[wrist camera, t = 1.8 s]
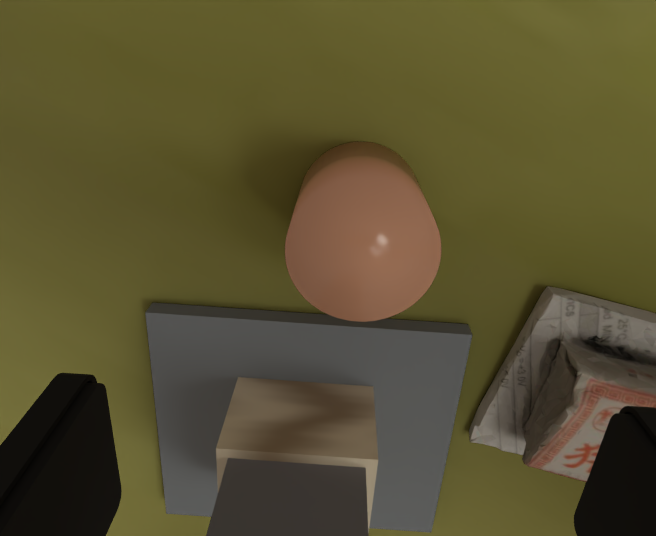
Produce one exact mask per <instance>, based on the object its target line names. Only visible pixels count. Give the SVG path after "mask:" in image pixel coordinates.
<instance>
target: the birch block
mask: <svg viewBox="0 0 656 536" xmlns="http://www.w3.org/2000/svg"><path fill="white" fill-rule="evenodd" d="M228 458H236V459H250V460H264V461H279V462H293V463H307V464H321V465H335V466H349V467H364V468H366V487H367V512H368V534H369V526H370V519H371V511H372V504H373V496H374V489H375V481H376V474H377V466H378V447H377V433H376V418H375V404H374V390H373V386H359V385H345V384H330V383H316V382H302V381H287V380H273V379H258V378H244V377H238V379H237V382H236V386H235V389H234V392H233V395H232V398H231V402H230V405H229V408H228V411H227V415H226V418H225V421H224V424H223V427H222V431H221V434H220V437H219V440H218V443H217V447H216V461H217V484H218V492H219V488H220V484H221V481H222V477H223V473H224V470H225V466H226V463H227V459H228Z"/></svg>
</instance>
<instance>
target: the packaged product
mask: <svg viewBox="0 0 656 536" xmlns="http://www.w3.org/2000/svg"><path fill="white" fill-rule="evenodd" d="M624 406H639V407H656V313H652V312H649V311H646V310H642V309H638V308H634V307H630V306H626V305H622V304H619V303H615V302H611V301H607V300H603V299H599V298H595V297H592V296H588V295H584V294H580V293H576V292H572V291H569V290H565V289H560V288H554V287H549V286H547V287H546V289H545V290H544V291H543V293H542V294H541V296H540V298H539V300H538V301H537V303H536V305H535V307H534V309H533V310H532V312H531V314H530V316H529V318H528V319H527V321H526V323H525V325H524V327H523V328H522V330H521V332H520V334H519V336H518V338H517V339H516V342H515V344H514V345H513V347H512V349H511V350H510V352H509V354H508V355H507V357H506V359H505V361H504V362H503V364H502V366H501V367H500V369H499V371H498V373H497V375H496V376H495V378H494V380H493V382H492V384H491V385H490V387H489V389H488V391H487V393H486V394H485V396H484V398H483V400H482V402H481V403H480V405H479V407H478V409H477V412H476V414H475V417H474V419H473V422H472V424H471V427H470V429H469V437H470V442H473V443H480V444H485V445H489V446H493V447H497V448H498V449H500V450H502V451H507V452H512V453H516V454H520V455H523V458H522V460H523V462H524V464H526V465H527V466H529V467H534V468H538V469H541V470H545V471H548V472H551V473H554V474H558V475H562V476H565V477H569V478H573V479H577V480H581V481H585V482H587V479H588V477H589V474H590V471H591V469H592V466H593V463H594V461H595V458H596V455H597V453H598V450H599V447H600V445H601V442H602V439H603V437H604V434H605V431H606V429H607V426H608V423H609V421H610V418H611V417H612V415H614V414H616V413H619V412H620V410H621V409H622V408H623V407H624Z"/></svg>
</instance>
